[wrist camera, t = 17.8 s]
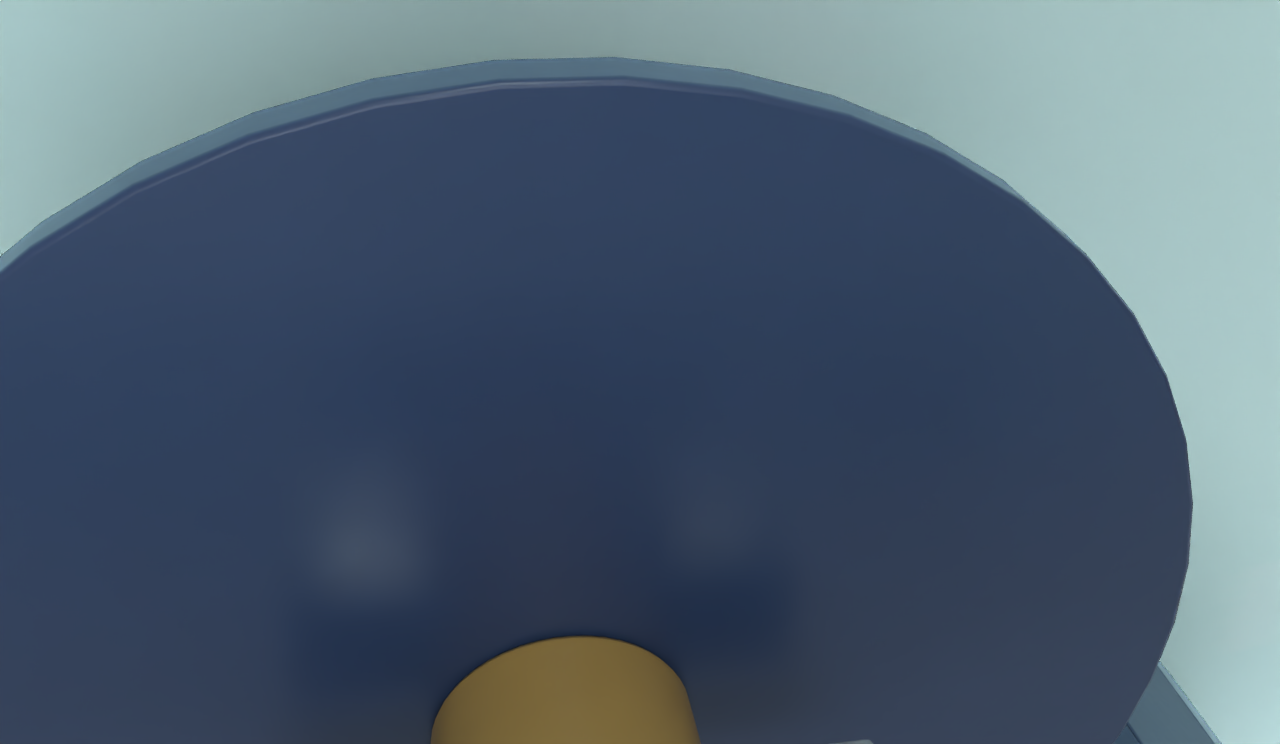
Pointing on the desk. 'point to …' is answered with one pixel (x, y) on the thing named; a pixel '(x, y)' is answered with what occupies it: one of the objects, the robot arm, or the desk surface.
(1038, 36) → the desk surface
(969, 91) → the desk surface
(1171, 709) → the tin
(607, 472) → the tin lid
